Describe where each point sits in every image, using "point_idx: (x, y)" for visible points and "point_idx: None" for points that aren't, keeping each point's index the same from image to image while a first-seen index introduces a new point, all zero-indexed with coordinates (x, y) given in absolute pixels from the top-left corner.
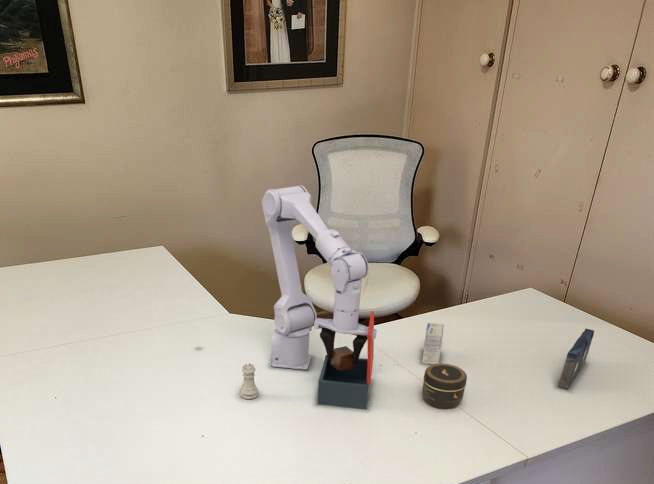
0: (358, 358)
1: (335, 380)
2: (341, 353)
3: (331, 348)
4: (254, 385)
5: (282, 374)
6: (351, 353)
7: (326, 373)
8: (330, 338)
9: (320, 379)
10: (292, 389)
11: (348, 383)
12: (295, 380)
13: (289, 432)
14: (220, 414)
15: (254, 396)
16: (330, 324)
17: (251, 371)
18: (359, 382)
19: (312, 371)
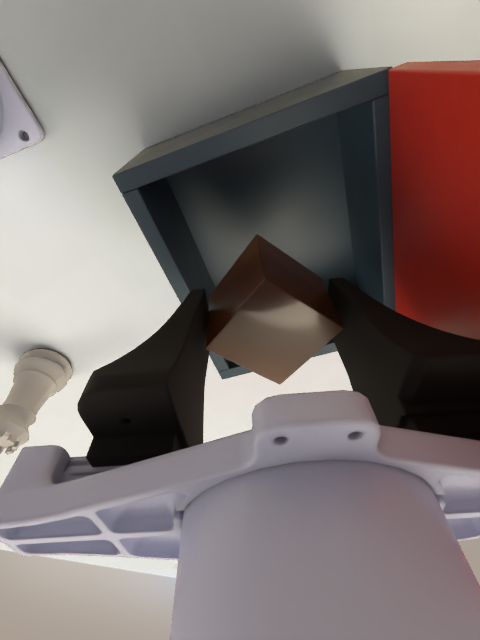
0: (304, 109)
1: (210, 183)
2: (274, 364)
3: (201, 349)
4: (47, 387)
5: (6, 222)
6: (326, 342)
7: (174, 215)
8: (198, 430)
9: (221, 370)
10: (113, 290)
11: (322, 350)
12: (76, 237)
13: (224, 418)
14: (70, 429)
15: (69, 373)
16: (161, 517)
17: (24, 441)
18: (308, 143)
19: (71, 128)
